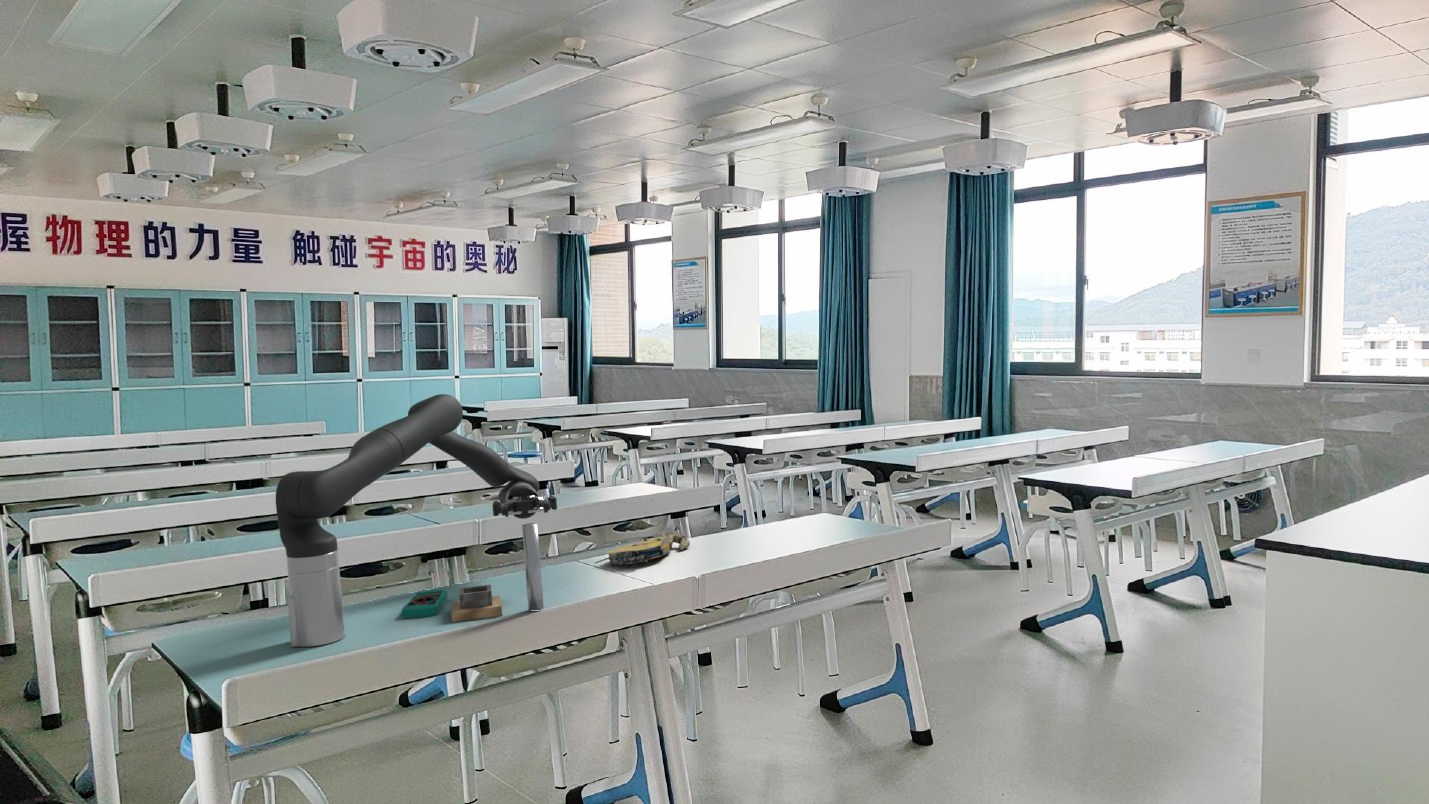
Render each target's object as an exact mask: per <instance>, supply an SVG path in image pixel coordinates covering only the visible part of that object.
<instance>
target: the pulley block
mask: <svg viewBox="0 0 1429 804" xmlns="http://www.w3.org/2000/svg"><path fill="white" fill-rule="evenodd" d="M674 543H676V544H679V545H678V549H679V550H680V551H683V550H685V549H687V548H689V546H690V545H691V542H690V540H689V539H688V537H686V535H684V534H681V533H679V532H673V531H669V532H665V533H663V534H662V536H659V537H654V538H650V539H648V538H647V537H644V539H643V541H639V542H634V543H632V544H628V545H625V546H621V547H618V548H615V549H613V550H610V551H608V552H607V554H608V557H606V558H604V559H600V560H598V561H595V562H594V564H597V563H601V562H604V561H606V560H609V565H610V566H623V565H633V564H639V563H644V562H646V563H649V562H648V561H651V560H653V559H657V558H663V556H666V555H669V554H670V553H672V552H671V551H670V549H672V548H673V544H674Z"/></svg>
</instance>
